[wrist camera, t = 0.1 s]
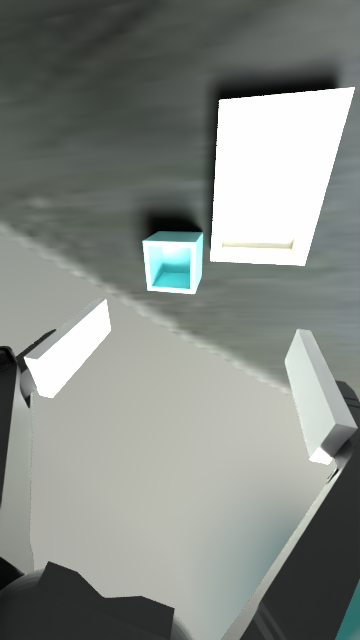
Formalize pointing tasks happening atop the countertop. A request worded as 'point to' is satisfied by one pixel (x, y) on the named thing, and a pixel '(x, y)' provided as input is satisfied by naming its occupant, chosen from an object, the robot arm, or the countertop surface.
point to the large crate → (273, 173)
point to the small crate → (173, 261)
